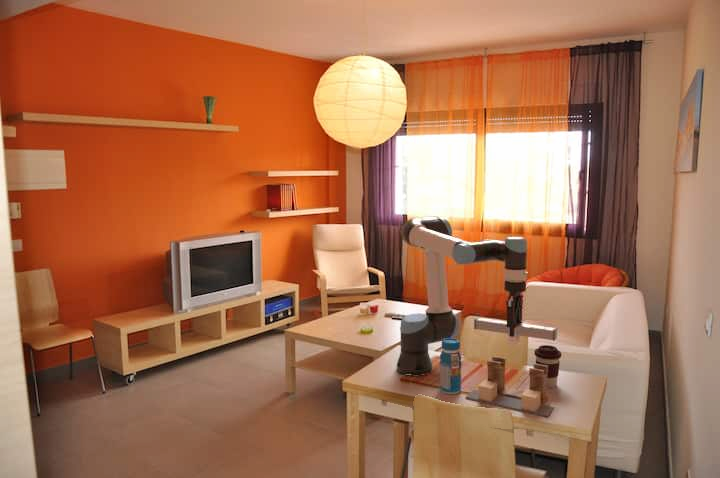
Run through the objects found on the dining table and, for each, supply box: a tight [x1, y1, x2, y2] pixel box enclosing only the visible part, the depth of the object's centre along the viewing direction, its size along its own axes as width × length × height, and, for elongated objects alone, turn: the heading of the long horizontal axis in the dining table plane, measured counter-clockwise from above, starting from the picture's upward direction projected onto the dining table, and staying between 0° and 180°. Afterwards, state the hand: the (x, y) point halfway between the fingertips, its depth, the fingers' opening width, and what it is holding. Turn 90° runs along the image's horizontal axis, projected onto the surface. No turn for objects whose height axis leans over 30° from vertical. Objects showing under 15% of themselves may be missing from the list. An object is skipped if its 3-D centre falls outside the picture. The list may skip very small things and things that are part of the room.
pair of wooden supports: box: [486, 355, 549, 405], centre depth 208 cm, size 22×6×12 cm, turn 57°
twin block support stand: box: [465, 379, 555, 418], centre depth 201 cm, size 30×8×6 cm, turn 57°
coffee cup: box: [534, 344, 562, 389], centre depth 217 cm, size 10×10×15 cm
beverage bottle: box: [438, 337, 463, 395], centre depth 212 cm, size 8×8×20 cm
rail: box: [473, 316, 558, 341], centre depth 201 cm, size 29×4×4 cm, turn 58°
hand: (514, 342), depth 202 cm, fingers closed on rail, 3 cm apart
